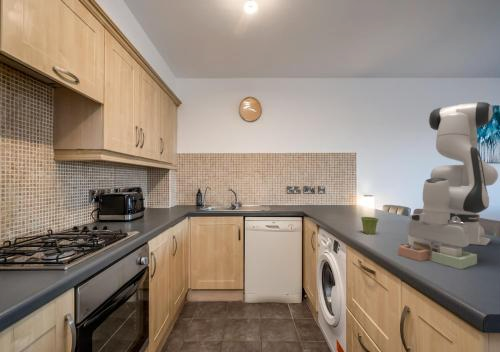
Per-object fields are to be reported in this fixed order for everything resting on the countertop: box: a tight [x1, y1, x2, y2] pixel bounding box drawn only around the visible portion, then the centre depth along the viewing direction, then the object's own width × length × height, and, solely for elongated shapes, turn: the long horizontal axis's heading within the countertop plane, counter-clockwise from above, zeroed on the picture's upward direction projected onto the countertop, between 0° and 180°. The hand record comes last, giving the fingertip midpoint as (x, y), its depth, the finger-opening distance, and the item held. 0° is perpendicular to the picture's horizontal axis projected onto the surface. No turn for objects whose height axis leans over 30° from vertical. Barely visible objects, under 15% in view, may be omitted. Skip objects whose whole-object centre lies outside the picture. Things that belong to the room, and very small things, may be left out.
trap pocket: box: [397, 244, 428, 262], centre depth 97 cm, size 5×8×4 cm, turn 27°
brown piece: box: [400, 241, 439, 261], centre depth 101 cm, size 10×12×4 cm
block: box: [440, 244, 463, 258], centre depth 92 cm, size 5×5×6 cm
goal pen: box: [430, 250, 478, 270], centre depth 92 cm, size 12×9×4 cm
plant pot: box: [360, 216, 379, 235], centre depth 139 cm, size 9×9×9 cm
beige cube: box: [406, 233, 425, 247], centre depth 115 cm, size 7×7×7 cm
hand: (435, 252), depth 97 cm, fingers closed
